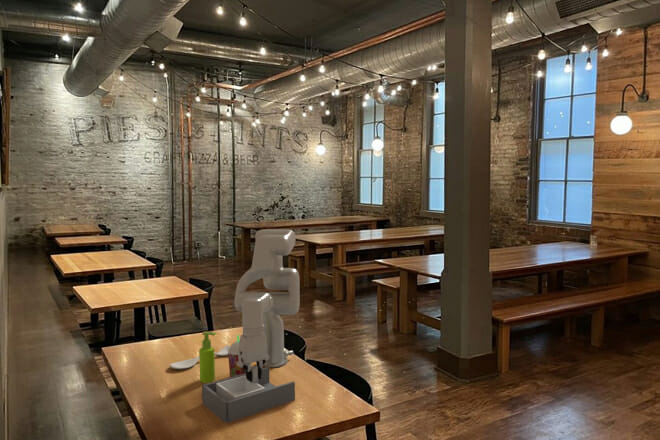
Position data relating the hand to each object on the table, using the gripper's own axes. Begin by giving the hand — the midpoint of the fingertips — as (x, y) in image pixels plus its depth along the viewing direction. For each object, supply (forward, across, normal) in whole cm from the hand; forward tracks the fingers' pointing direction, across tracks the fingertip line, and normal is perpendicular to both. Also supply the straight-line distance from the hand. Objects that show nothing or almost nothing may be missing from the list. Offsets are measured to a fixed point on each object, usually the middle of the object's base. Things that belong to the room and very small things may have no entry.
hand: (253, 378), depth 186 cm
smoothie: (+8, -3, -17) cm, 19 cm away
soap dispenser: (+8, +5, -28) cm, 30 cm away
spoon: (+9, -2, -49) cm, 50 cm away
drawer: (+7, +5, 0) cm, 9 cm away
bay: (+8, +2, 0) cm, 8 cm away
